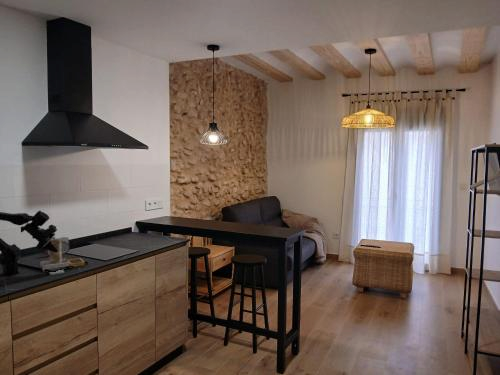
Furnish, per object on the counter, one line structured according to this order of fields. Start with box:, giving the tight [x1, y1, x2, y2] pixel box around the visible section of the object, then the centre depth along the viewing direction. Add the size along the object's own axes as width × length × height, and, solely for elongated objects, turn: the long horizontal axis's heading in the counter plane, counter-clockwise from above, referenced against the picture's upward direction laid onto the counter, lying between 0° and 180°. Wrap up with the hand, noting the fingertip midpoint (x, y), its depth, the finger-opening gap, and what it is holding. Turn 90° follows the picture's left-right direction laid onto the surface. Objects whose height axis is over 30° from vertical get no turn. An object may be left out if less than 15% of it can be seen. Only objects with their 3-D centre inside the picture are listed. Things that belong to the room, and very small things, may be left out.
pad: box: [48, 268, 65, 276], centre depth 214 cm, size 7×7×1 cm
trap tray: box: [66, 257, 86, 268], centre depth 229 cm, size 8×10×2 cm
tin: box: [44, 241, 71, 257], centre depth 248 cm, size 15×3×8 cm, turn 141°
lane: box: [39, 258, 69, 272], centre depth 223 cm, size 14×10×3 cm
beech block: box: [49, 237, 63, 264], centre depth 213 cm, size 5×5×13 cm
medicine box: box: [60, 236, 70, 245], centre depth 258 cm, size 8×4×9 cm, turn 163°
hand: (58, 250), depth 213 cm, fingers closed on beech block, 5 cm apart
